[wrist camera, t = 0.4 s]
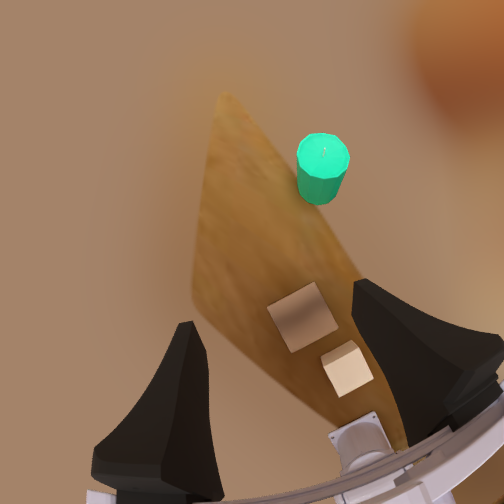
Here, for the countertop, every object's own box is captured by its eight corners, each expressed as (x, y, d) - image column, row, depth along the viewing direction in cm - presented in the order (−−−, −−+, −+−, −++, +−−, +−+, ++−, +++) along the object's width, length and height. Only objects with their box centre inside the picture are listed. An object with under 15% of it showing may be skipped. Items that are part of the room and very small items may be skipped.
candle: (338, 206, 38) (353, 176, 26) (296, 204, 39) (295, 172, 27) (337, 168, 38) (350, 127, 27) (297, 166, 39) (296, 123, 28)
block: (365, 367, 35) (373, 378, 30) (334, 383, 35) (339, 397, 30) (351, 339, 36) (358, 347, 31) (320, 356, 36) (323, 367, 31)
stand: (336, 325, 36) (338, 328, 34) (291, 348, 37) (291, 353, 34) (313, 281, 37) (314, 281, 35) (268, 305, 38) (266, 307, 35)
